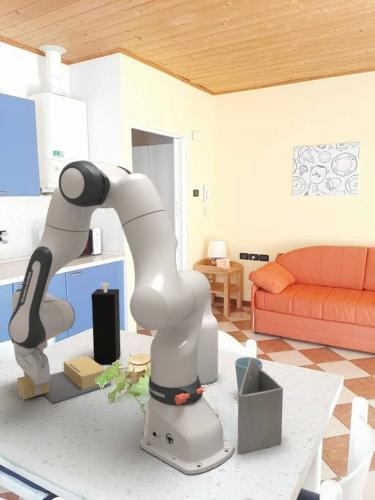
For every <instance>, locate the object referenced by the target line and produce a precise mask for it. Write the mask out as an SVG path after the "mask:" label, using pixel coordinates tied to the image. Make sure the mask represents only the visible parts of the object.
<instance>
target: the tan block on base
mask: <svg viewBox="0 0 375 500" xmlns="http://www.w3.org/2000/svg"><path fill="white" fill-rule="evenodd" d="M105 370H107V368H105V367H103V365H102V364H98V363H96V362H95V361H94V359H92V358H91V357H90V356H88V355H85V356H80V357H77V358H74V359H69V360H65V361H63V370H62V371H59V372H56V373H50V381H49V392H47V393H44V394H43V395H44V396H45V398H47V399H48V401H49V402H50V403H51V405H55V404H58V403H62V402H64V401H67V400H71V399H74V398H77V397H80V396H83V395H86V394H89V393H93V392H96V391H98V390H101V389H100V386H99V384H97V383H95V379H96V378H97V377H98V376H100V375H101V374H102V373H103V372H104V371H105ZM110 385H111V386H112V383H111V382H110V383H107V384H105V385H104V387H103V388H102V389H104V388H107V386H108V387H111V386H110Z"/></svg>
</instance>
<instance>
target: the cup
mask: <svg viewBox="0 0 375 500" xmlns="http://www.w3.org/2000/svg"><path fill="white" fill-rule="evenodd" d="M251 357H252V356H250V357H249V356H244V357H239V358H238V357H237V358H236V360H235V361H234V364H235V365H234V366H235V374H236V386H237V393H238V394H237V395H238V396H239V392H240V389H241V386H242V382H243V379H244V375H245V372H246V369H247V366H248V362H249V359H250V358H251ZM252 358H253V359H254V361H255V362H256V363H257V364H258V365H259V366H260V367H261V369H262V370H263V365H264V364H263V361H262V360H261V359H258V358H257V357H252Z"/></svg>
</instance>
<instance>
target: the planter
mask: <svg viewBox="0 0 375 500" xmlns="http://www.w3.org/2000/svg"><path fill="white" fill-rule="evenodd" d="M250 357H251V358H250V359H249V362H248V366H247V369H246V372H245V375H244V379H243V382H242V386H241V389H240V392H239V396H238V397H237V398H238V399H237V400H238V401H237V454H238V455H243V454H247V453H252V452H256V451H259V450H264V449H267V448H272V447H274V446H277V445H281V444H282V432H283V431H282V430H283V429H282V428H283V405H284V404H283V403H284V402H283V401H284V399H283V398H284V397H283V396H284V388H283V386H282V385H280V383H278V381H276V380H275V379H274V378H273V377H271V375H269V373H267V372H266V371H265V370H263V368H262V369H261V367H260V366H259V365H258V364H257V363H256V362H255V361H254V359H253V358H254V357H252V356H250Z"/></svg>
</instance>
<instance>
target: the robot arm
mask: <svg viewBox="0 0 375 500" xmlns="http://www.w3.org/2000/svg"><path fill="white" fill-rule="evenodd" d="M49 201H50V202H49V206H48V209H47V214H46V217H45V224H44V229H43V232H42V236H41V238H40V241H39V242H38V245H37V246H36V248H35V250H33V252H32V254H31V255H30V259H29V261H28V265H27V268H26V271H25V275H24V278H23V281H22V284H21V288H18V289H16V290H15V291H14V292H13V294H12V299H11V300H12V301H11V316H10V317H9V321H8V327H7V328H8V330H7V331H8V335H9V337H10V340H11V343H12V344H13V350H14V357H15V361H16V364H17V365H18V366H19V367H20V368H21V369H22V371H23V377H24V376H29V377H30V378H31V379H32V380H33V382H34V387H33V391H34V393H35V394H39V393H41V387H42V384H46V383H48V382H49V381H50V375H51V371H50V362H49V358H48V356H47V355H46V354H45V353H44V350H45V349H46V348H47V347H48V341H49V340H51V339H54V338H55V337H57V336H59V335H61V334H64V333H66V332H67V331H69V330H70V329H72V327H73V326H74V324H75V321H76V314H75V313H76V312H75V310H74V307H73V306H72V304H71V303H70V302H69V301H67V300H66V299H64V298H59V297H56V296H53V295H51V294H50V293H48V290H49V285H50V282H51V281H52V279H53V277H54V276H55V275H56V274H57V273H58V271H60V270H61V269H63V268H64V267H65V266H66V265H68V264H70V263H72V261H75V260H76V259H77V258H78V257H80V256H81V255H82V254H83V252H84V251H85V248H86V247H87V243H88V240H89V235H90V227H91V220H92V216H93V213H94V212H95V211H96V210H98V209H113V210H114V211H115V212H116V214H117V216H118V219H119V223H120V225H121V228H122V231H123V233H124V237H125V240H126V242H127V244H128V247H129V250H130V253H131V256H132V262H133V270H134V288H133V292H132V294H131V297H130V300H129V310H130V314H131V317H132V319H133V321H135V323H136V324H137V325H138V326H139V327H140V328H141V329H144V330H147V331H156V333H155V335H154V337H153V339H152V341H151V344H150V352H149V353H150V355H149V357H150V375H149V377H148V394H149V396H150V397H149V401H148V403H147V407H146V410H145V417H144V418H145V419H144V429H143V431H144V433H143V434H144V435H143V437H142V438H141V440H140V443H139V445H140V448H141V449H143V450H145V451H146V452H148V453H149V454H151V455H153V456H155V457H156V458H158V459H160V460H162V461H163V462H165V463H167V464H168V465H170V466H172V467H174V468H175V469H177V470H179V471H181V472H182V473H184V474H186V475H197V474H200V473H201V474H202V473H204V472H208V471H209V470H212V469H214V468H217V467H218V466H220V465H221V464H223V463H225V462H226V461H227V460H228V459H229V458H230V457H231V456H233V454H234V451H235V445H234V443H233V442H231V441H230V440H229V439H228V437H226V435H224V429H223V425H222V422H221V420H220V418H219V417H220V415H219V412H218V411H217V409H213V408H212V407H211V405H210V404H209V402H208V401H207V399H206V398H205V396H204V393H205V392H206V390H205V389H206V386H202V384H201V383H200V380H199V376H198V375H197V354H198V341H199V335H200V330H201V325H202V320H203V315H204V310H205V306H206V303H207V301H208V299H209V296H210V297H211V292H212V291H211V290H210V289H211V287H210V286H211V283H210V282H209V280H208V278H207V277H206V276H205V275H204V273H202V272H200V271H199V270H192V269H179V270H178V269H177V260H176V257H177V256H176V253H177V248H178V246H179V245H178V244H179V243H178V239H177V235H176V232H175V230H174V228H173V225H172V222H171V219H170V217H169V215H168V211H167V209H166V206H165V205H164V202H163V200H162V197H161V195H160V194H159V191H158V190H157V188H156V186H155V184H154V183H153V181H152V180H151V178H150V177H148V176H147V175H146V174H144V173H139V172H135V173H134V172H133V173H132V172H131V171H130V170H128V169H127V168H125V167H123V166H120V165H114V164H109V163H106V162H101V161H88V160H84V159H82V160H76V161H72V162H69V163H67V164H66V165H65V166H64V167H63V168H62V170H61V171H60V174H59V177H58V186H57V187H56V188H55V189H54V190H53V192H52V196H51V199H50V200H49Z"/></svg>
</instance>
